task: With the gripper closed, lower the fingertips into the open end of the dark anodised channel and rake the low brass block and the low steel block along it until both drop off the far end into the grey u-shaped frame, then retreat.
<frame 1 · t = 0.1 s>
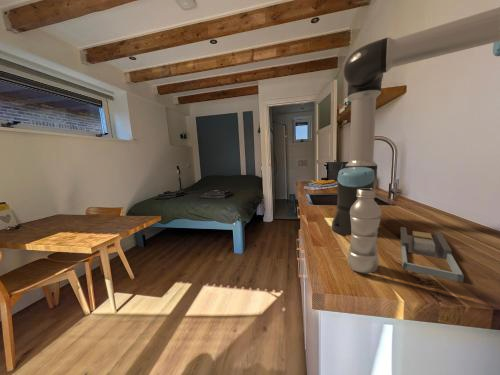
channel: (421, 247, 59), on the countertop
plastic bottle: (362, 270, 49), on the countertop
steel block: (423, 249, 56), point 1 cm above the countertop, touching channel
brass block: (421, 243, 60), point 1 cm above the countertop, touching channel
grey u-shaped frame: (427, 267, 49), on the countertop
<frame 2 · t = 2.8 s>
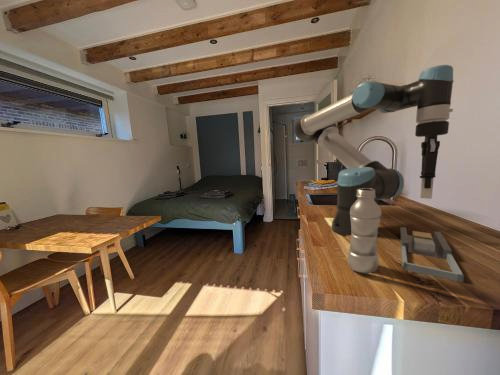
hand: (425, 197, 64), 14 cm above the countertop, fingers closed
nothing on the countertop moved.
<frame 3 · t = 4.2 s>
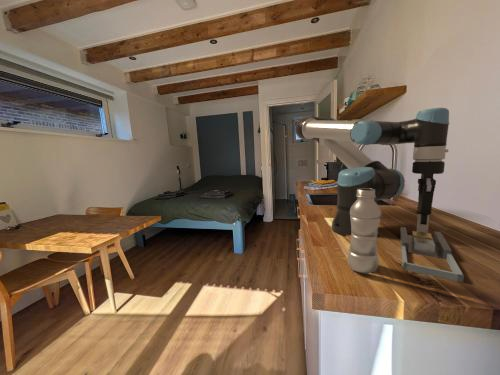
hand: (421, 232, 66), 2 cm above the countertop, fingers closed
nothing on the countertop moved.
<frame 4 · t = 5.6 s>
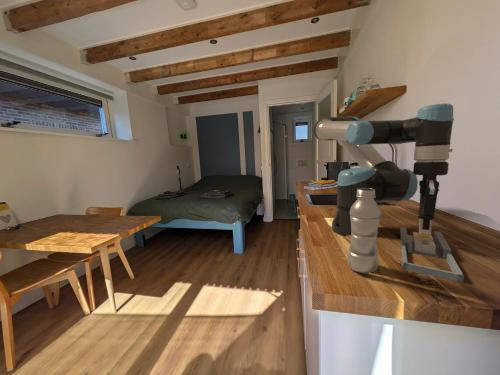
hand: (424, 238, 61), 2 cm above the countertop, fingers closed
steel block: (423, 250, 56), point 1 cm above the countertop
brass block: (421, 244, 59), point 1 cm above the countertop, touching gripper
everything else where it was.
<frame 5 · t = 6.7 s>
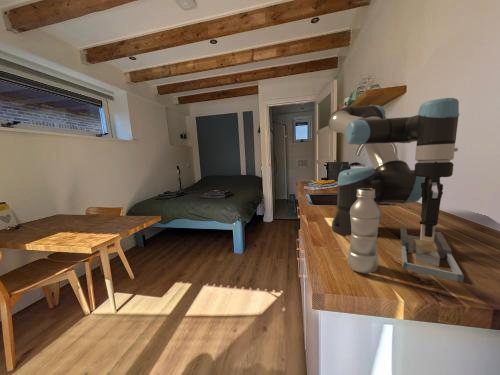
hand: (426, 246, 56), 2 cm above the countertop, fingers closed
steel block: (426, 261, 51), point 1 cm above the countertop, touching brass block, grey u-shaped frame
brass block: (424, 253, 54), point 1 cm above the countertop, touching gripper, steel block
everything else where it was.
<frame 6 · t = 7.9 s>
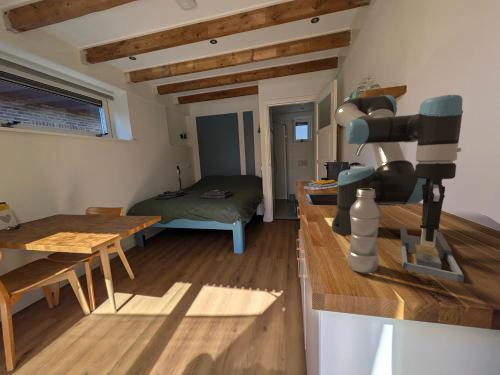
hand: (427, 251, 53), 2 cm above the countertop, fingers closed
steel block: (426, 267, 48), resting on grey u-shaped frame, touching brass block
brass block: (425, 259, 52), resting on grey u-shaped frame, touching gripper, steel block
everything else where it was.
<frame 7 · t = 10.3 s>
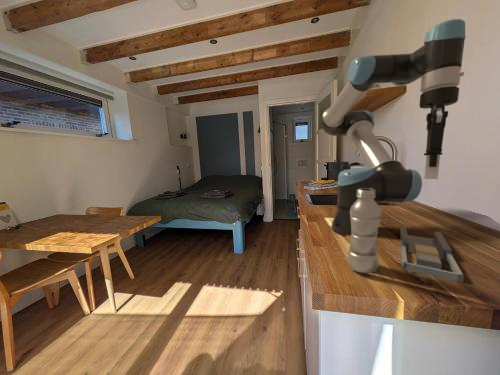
hand: (430, 178, 56), 21 cm above the countertop, fingers closed
brass block: (425, 259, 52), resting on grey u-shaped frame, touching steel block
everything else where it was.
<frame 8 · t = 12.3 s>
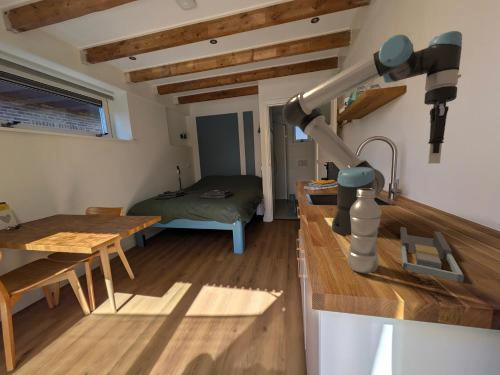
hand: (434, 163, 67), 24 cm above the countertop, fingers closed
nothing on the countertop moved.
at the end: brass block inside the target area (3.1 cm from its centre), point 0.5 cm above the countertop; steel block inside the target area (1.2 cm from its centre), point 0.5 cm above the countertop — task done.
